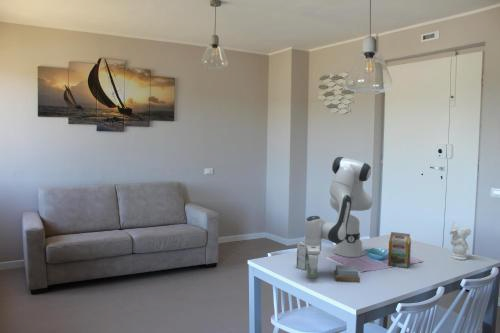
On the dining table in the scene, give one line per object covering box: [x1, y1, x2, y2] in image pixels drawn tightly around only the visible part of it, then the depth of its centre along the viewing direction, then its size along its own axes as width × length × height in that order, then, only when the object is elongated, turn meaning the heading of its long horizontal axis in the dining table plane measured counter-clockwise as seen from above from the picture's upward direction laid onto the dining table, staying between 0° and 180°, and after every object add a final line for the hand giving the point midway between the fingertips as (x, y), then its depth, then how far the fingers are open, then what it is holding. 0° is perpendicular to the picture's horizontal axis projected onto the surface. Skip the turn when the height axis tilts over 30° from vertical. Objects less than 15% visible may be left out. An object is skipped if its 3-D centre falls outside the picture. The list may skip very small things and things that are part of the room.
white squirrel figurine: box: [449, 221, 472, 261], centre depth 273 cm, size 12×12×22 cm
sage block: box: [306, 264, 318, 279], centre depth 237 cm, size 5×5×6 cm
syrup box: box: [296, 241, 309, 271], centre depth 250 cm, size 6×6×14 cm
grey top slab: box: [335, 264, 359, 277], centre depth 234 cm, size 10×10×3 cm
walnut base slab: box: [333, 269, 361, 284], centre depth 234 cm, size 12×12×3 cm
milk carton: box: [387, 231, 412, 270], centre depth 259 cm, size 11×11×19 cm
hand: (312, 272), depth 237 cm, fingers closed on sage block, 5 cm apart
